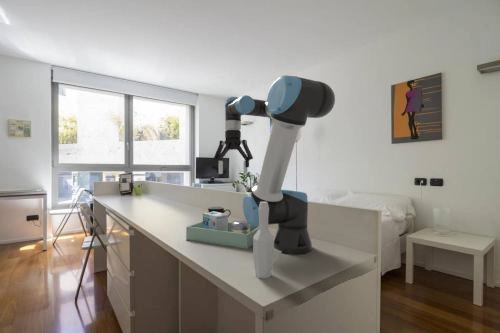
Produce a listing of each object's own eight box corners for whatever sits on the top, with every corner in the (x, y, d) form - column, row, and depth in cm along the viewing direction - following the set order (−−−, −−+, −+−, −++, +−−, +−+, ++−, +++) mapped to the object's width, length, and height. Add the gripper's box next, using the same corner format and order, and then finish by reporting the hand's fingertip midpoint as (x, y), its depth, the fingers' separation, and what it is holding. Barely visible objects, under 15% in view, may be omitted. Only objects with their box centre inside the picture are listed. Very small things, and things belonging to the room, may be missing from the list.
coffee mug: (205, 227, 135) (205, 208, 135) (210, 223, 144) (211, 206, 144) (227, 228, 133) (227, 209, 133) (231, 224, 142) (231, 206, 142)
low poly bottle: (250, 271, 79) (251, 201, 79) (270, 270, 81) (270, 200, 81) (255, 280, 73) (256, 204, 73) (276, 278, 74) (277, 203, 74)
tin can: (253, 239, 111) (253, 221, 111) (244, 244, 104) (245, 225, 104) (236, 237, 115) (236, 219, 115) (227, 242, 107) (227, 223, 107)
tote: (262, 239, 114) (262, 226, 114) (247, 250, 100) (247, 234, 99) (206, 231, 126) (206, 219, 126) (186, 240, 112) (186, 226, 112)
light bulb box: (202, 236, 116) (202, 212, 116) (214, 233, 121) (214, 210, 121) (216, 241, 109) (216, 216, 109) (228, 238, 113) (228, 214, 113)
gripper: (259, 129, 121) (259, 174, 121) (215, 132, 132) (215, 173, 132) (253, 127, 115) (253, 175, 115) (207, 130, 125) (206, 173, 125)
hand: (232, 174), depth 123 cm, fingers open, 13 cm apart
